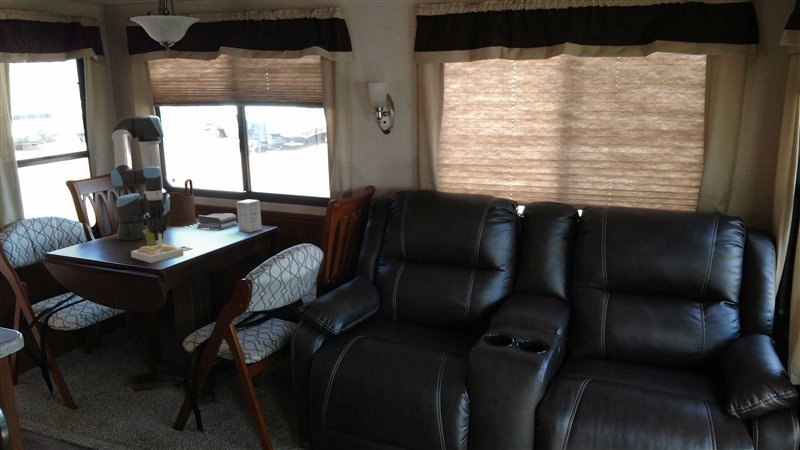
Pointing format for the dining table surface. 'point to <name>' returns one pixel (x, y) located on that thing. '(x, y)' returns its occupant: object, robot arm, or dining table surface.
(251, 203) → the supplement box
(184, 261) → the dining table surface
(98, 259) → the dining table surface
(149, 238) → the plant pot
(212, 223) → the towel
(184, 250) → the card
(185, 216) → the brown basket
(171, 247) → the button
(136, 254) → the white square food tray
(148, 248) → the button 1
